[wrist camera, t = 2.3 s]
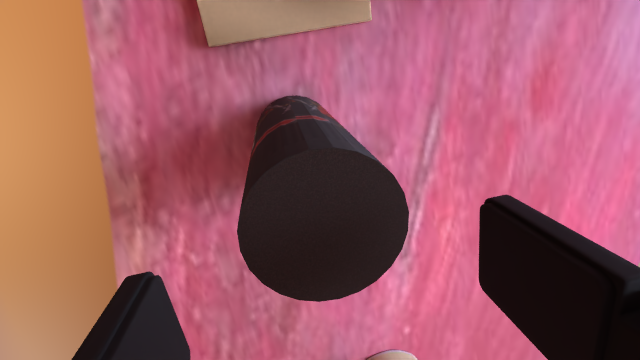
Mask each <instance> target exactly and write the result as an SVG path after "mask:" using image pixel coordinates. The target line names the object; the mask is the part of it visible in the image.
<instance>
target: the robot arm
mask: <svg viewBox="0 0 640 360" xmlns="http://www.w3.org/2000/svg"><path fill="white" fill-rule="evenodd" d="M479 283H480V286H481V288H482V289H483V291H484V292H485V293H486V294H487V295H488V296H489V297H490V299H491V300H492V301H493V302H494V303H495V304H496V305H497V306H498V307H499V308H500V309H501V310H502V311H503V312H504V313H505V314H506V316H507V317H508V318H509V319H510V320H511V321H512V322H513V323H514V324H515V325H516V326H517V327H518V328H519V329H520V330H521V332H522V333H523V334H524V335H525V336H526V337H527V338H528V339H529V340H530V341H531V342H532V343H533V344H534V345H535V346H536V348H537V349H538V350H539V351H540V352H541V353H542V354H543V355H544V356H545V357H546V358H547V359H548V360H640V267H638V266H636V265H634V264H632V263H631V262H629V261H627V260H625V259H623V258H622V257H620V256H618V255H616V254H614V253H613V252H611V251H609V250H607V249H605V248H604V247H602V246H600V245H598V244H596V243H595V242H593V241H591V240H589V239H587V238H585V237H584V236H582V235H580V234H578V233H576V232H575V231H573V230H571V229H569V228H567V227H566V226H564V225H562V224H560V223H558V222H557V221H555V220H553V219H551V218H549V217H548V216H546V215H544V214H542V213H540V212H539V211H537V210H535V209H533V208H531V207H530V206H528V205H526V204H524V203H522V202H520V201H519V200H517V199H515V198H513V197H511V196H509V195H502V196H497V197H493V198H488V199H486V200H485V202H484V204H483V205H482V206H481V207H480V233H479ZM72 360H190V349H189V346H188V343H187V341H186V338H185V336H184V333H183V331H182V328H181V326H180V323H179V321H178V318H177V316H176V313H175V311H174V308H173V306H172V303H171V301H170V298H169V296H168V293H167V291H166V288H165V286H164V283H163V281H162V279H161V277H160V276H159V275H156V276H154V274H153V273H152V272H145V273H141V274H136V275H131V276H128V277H126V278H125V279H124V281H123V282H122V284H121V286H120V287H119V289H118V290H117V292H116V293H115V295H114V296H113V298H112V299H111V301H110V302H109V304H108V305H107V307H106V308H105V310H104V311H103V313H102V314H101V316H100V317H99V319H98V320H97V322H96V323H95V325H94V326H93V328H92V329H91V331H90V332H89V334H88V336H87V337H86V339H85V340H84V342H83V343H82V345H81V346H80V348H79V349H78V351H77V352H76V354H75V356H74V357H73V358H72Z"/></svg>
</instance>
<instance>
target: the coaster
mask: <svg viewBox="0 0 640 360" xmlns="http://www.w3.org/2000/svg"><path fill="white" fill-rule="evenodd" d="M196 1H197V5H198V9H199V12H200V16H201V20H202V24H203V28H204V32H205V35H206V39H207V43H208V46H209V47H217V46H223V45H229V44H235V43H241V42H247V41H253V40H259V39H265V38H271V37H277V36H284V35H290V34H296V33H302V32H308V31H314V30H320V29H326V28H332V27H338V26H344V25H351V24H357V23H363V22H368V21H371V20H372V16H371V5H370V0H196Z"/></svg>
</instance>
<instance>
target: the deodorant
mask: <svg viewBox="0 0 640 360" xmlns="http://www.w3.org/2000/svg"><path fill="white" fill-rule="evenodd" d="M408 218H409V211H408V206H407V202H406V198H405V194H404V192H403V190H402V188H401V187H400V185H399V183H398V182H397V180H396V178H395V177H394V175H393V174H392V173H391V172H390V171H389V170H388V169H387V168H386V167H385V166H384V165H382V164H381V163H380V162H379V161H378V160H377V159H376V158H375V157H374V156H373V155H372V154H371V153H370V152H369V151H368V150H367V149H366V148H365V147H364V146H363V145H362V144H360V143H359V142H358V141H357V140H356V139H355V138H354V137H353V136H352V135H351V134H350V133H349V132H348V131H347V130H346V129H345V128H344V127H343V126H342V125H341V124H340V123H339V122H337V121H336V120H335V119H334V118H333V117H332V116H331V115H330V114H329V113H328V112H327V111H326V110H325V109H324V108H323V107H322V106H320V105H319V104H318V103H317V102H315V101H313V100H311V99H309V98H307V97H302V96H286V97H283V98H281V99H278V100H276V101H274V102H273V103H271V104H270V105H269V106H268V107H267V108H266V109H265V110H264V111H263V113H262V114H261V116H260V118H259V120H258V122H257V126H256V131H255V137H254V142H253V147H252V152H251V157H250V162H249V167H248V173H247V178H246V183H245V188H244V193H243V198H242V204H241V209H240V215H239V222H238V229H237V234H238V240H239V246H240V252H241V254H242V256H243V258H244V260H245V262H246V264H247V266H248V268H249V270H250V271H251V272H252V273H253V274H254V275H255V276H256V277H257V278H258V279H259V280H260V281H261V282H262V283H263V284H264V285H266V286H267V287H269V288H271V289H272V290H274V291H276V292H277V293H279V294H281V295H284V296H288V297H291V298H294V299H297V300H304V301H318V302H320V301H327V300H334V299H340V298H343V297H346V296H349V295H351V294H354V293H357V292H359V291H361V290H363V289H364V288H366V287H367V286H369V285H371V284H372V283H374V282H375V281H377V280H378V279H379V278H380V277H381V276H382V275H383V274H384V273H385V272H386V271H387V270H388V269H389V268H390V267H391V266H392V264H393V263H394V261H395V260H396V258H397V256H398V255H399V253H400V252H401V250H402V247H403V244H404V241H405V238H406V235H407V232H408Z"/></svg>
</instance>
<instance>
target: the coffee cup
mask: <svg viewBox="0 0 640 360" xmlns="http://www.w3.org/2000/svg"><path fill="white" fill-rule="evenodd" d="M367 360H418V359H417V358H416V357H415V356H414V355H412V354H410V353H408V352H406V351H401V350H390V351H385V352H381V353H378V354H376V355H374V356H372V357H370V358H369V359H367Z"/></svg>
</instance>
